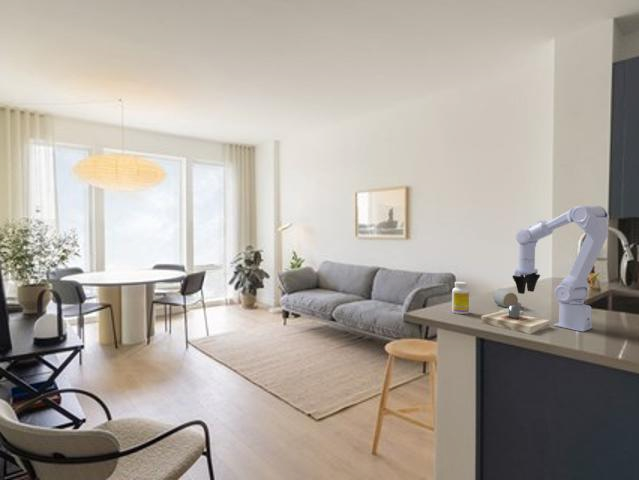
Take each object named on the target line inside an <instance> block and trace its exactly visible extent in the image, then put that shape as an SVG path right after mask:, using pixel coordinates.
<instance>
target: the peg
mask: <svg viewBox="0 0 639 480" xmlns="http://www.w3.org/2000/svg"><path fill="white" fill-rule="evenodd" d="M508 309H509V318H510V319H515V320H520V311H521V306H517V305H509V308H508Z"/></svg>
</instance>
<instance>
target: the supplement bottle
mask: <svg viewBox="0 0 639 480" xmlns="http://www.w3.org/2000/svg"><path fill="white" fill-rule="evenodd" d="M469 295H470V291H469V289H468V288H467V282H466V281H465V282H464V281H455V282H454V287H453V288H452V290H451V312H452V313H453V314H455V315H468V314H469V310H470V309H469V308H470V307H469V306H470V305H469V304H470V302H469V301H470V300H469V299H470V296H469Z"/></svg>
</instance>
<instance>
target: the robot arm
mask: <svg viewBox="0 0 639 480" xmlns="http://www.w3.org/2000/svg"><path fill="white" fill-rule="evenodd" d="M609 218H610V214H609V213H608V211H607V210H606V209H605V208H604V207H603V206H601V205H578V206H575V207H573V208H570V209H569V210H568V211H566V212H564V213H562V214H560V215H558V216H557V217H555V218H553V219H551V220H549V221H547V220H539V221H537V223H536V224H535V225H532V226H530V225H529V226H528V227H527V229H520V230H519V231H517V232H516V235H515V240H516V242H517V243H518V268H516V269H515V271H514V274H513V275H512V279H513V281H514V282H515V286H516V289H517V292H518V293H517V294H521V295H524V294H525V292H526V289H527V292H530V293H532V292H533V293H534V291H535V289H536V285H537V283H538V280H539V278H540V277H541V274H538V272H539V271H538V268H536V266H535V265H536V247H537V243H538V241H539V240H541V239H544V238H546V237H548V236H550V235H552V234H553V233H554V230H556V229H559V228H561V227H563V226H565V225H568V224H571V223H575V224H576V225H577V226H578V227H579V228H581V230H583V232H584V233H585V237H584V240H583V242H582V244H581V247H580V250H579V251H578V253H577V256H576V258H575V260H574V262H573V265H572V267H571V270H570V272H569V274H568V275H567V276H566V277H565V278H563V279H562V280H561V282H560V284H558V285H557V286H556V288H555V289H554V295H555V298H556V299H557V301H558V304H559V305H558V322H557V323H554V324H553V326H555V327H559V328H564V329H569V330H574V331H578V332H586V331H588V330H591V329H592V328H593V326H592V322H593V317H592V316H593V309H592V306H590V305H588V304H585V300H586V299H587V298H588V297H589V288H590V283H589V282H588V281H587V280H588V278H589V276H590V274H591V272H592V270H593V268H594V265H595V264H596V262H597V259H598V257H599V256H600V253H601V251H602V248H603V247H604V244H605V241H606V240H607V237H608V236H609V230H608V229H609V228H608V220H609Z"/></svg>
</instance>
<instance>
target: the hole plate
mask: <svg viewBox="0 0 639 480" xmlns="http://www.w3.org/2000/svg"><path fill="white" fill-rule="evenodd" d="M480 319H481V321H480V322H481V323H482V324H486V325H490V326H495V327H498V328H502V329H503V328H504V329H507V330H508V329H509V330H512V331H515V332H521V333H524V334H529V335H532V334H534V333H537V332H540V331H543V330H546V329H549V328H550V320H549V319H546V318H545V319H544V318H538V317H532V316H528V315H525V314H524V315H520V320H515V319H510V318H509V312H504V311H499V312H498V311H496V312H492V313H487V314H485V315H481V316H480Z"/></svg>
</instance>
